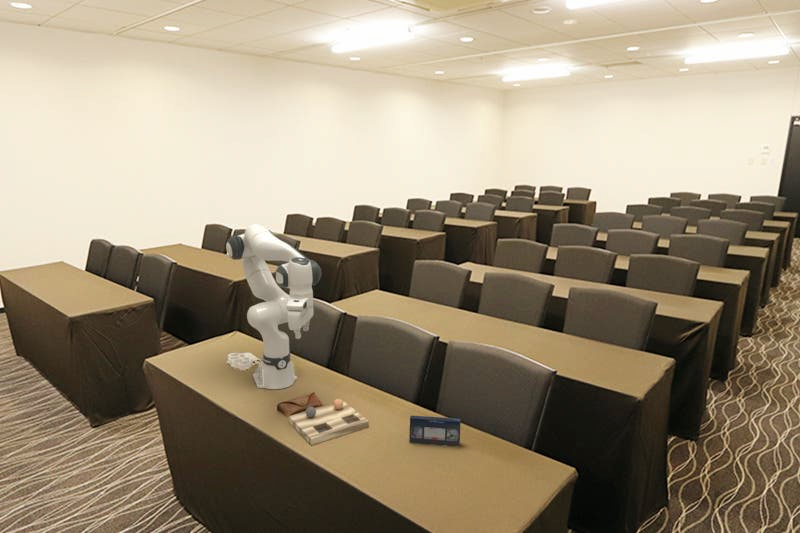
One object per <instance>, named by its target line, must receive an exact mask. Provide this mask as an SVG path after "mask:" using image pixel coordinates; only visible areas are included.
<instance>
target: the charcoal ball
mask: <svg viewBox="0 0 800 533" xmlns="http://www.w3.org/2000/svg"><path fill="white" fill-rule="evenodd" d="M315 414H316V408H314V407H308V408H307V409H306V415H307V416H308V417H313V416H315Z"/></svg>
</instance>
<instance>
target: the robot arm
mask: <svg viewBox="0 0 800 533" xmlns="http://www.w3.org/2000/svg"><path fill="white" fill-rule="evenodd" d="M225 246H226V247H225V248H226V252H227V254H228V256H229V257H230V258H231V259H232V260H234V261H235V260H237V261H238V260H239V261H240V260H242V259H243V260H242V263H241V266H242V270H243V272H244V273H243V274H244V276H245V278H246V281H247V284H248V286H249V287H250V288H249V289H250V291H251V293H252V295H253V296H254V297H256V298H257V299H260V300H263V302H259V303H257V304H254V305H251V306H250V307H249V308H248V310H247V313H246V318H247V319H246V320H247V322H248V324H249V325H250V326H251V327H252V328H253V329H255V330H257V331H258V332H259V333H260V335H261V337H262V342H263V343H262V344H263V352H262V353H263V355H262V360H261V363H259V364H258V365H257V368H255V372H254V373H253V375H252V377H253V380H254V382H255V385H256V387H257V388H258V389H267V390H280V389H285V388H289V387H290V386H292V385H293V384H294V383H295V381H297V380H298V376H297V375H295V367H294V362H292V361H291V358H292V356H291V351H290V338H289V336H288V334H287V333H286V332H284V331H282V330H279V325H281V324H286V323H287V325H288V329H289V330H290V331H293V332H294V334H295V335H294V336H295V339H296V340H300V339H301V338H302V332H301V329H302V330H303V331H304V332H308V331H309V326H310V321H311V319H312V318H313V316H314V313H315V312H314V291H313V287H312V286H316V284H318V283H319V281H320V280H321V279H322V278H321V277H322V275H323V273H322V268H321V267H320V264H318V263H317V262H316V261H315V260H313V259H310V258H308V257H307V256H306V255H304V254H303V253H302V252H300V251H299V250H298V249H297V248H295V247H294V246H292V244H289V243H287V242H285V241H283V240H281V239H279V238H278V237H276V236H275V235H274V232H272V231H271V230H270V229H268V228H266V227H265V226H263V225H261V224H259V223H253V224H250V225H249V226H248V227H247V228H246V229H245V230H244V233H242V234H239V235H233V236H232V237H229V238H228V239H227V241H226V243H225ZM266 261H268V262H270V261H274V262H275V261H276V262H277V261H280V262H281V261H282V262H285V263H283V264H281V265H279V266H277V267H276V270H275V272H274V276H273V273H272V272H271V270H270V268H269V266H268V264H267V262H266ZM286 262H287V263H286ZM274 277H275V278H274ZM283 289H289V294H288V293H287V292H285V291H284V290H283Z"/></svg>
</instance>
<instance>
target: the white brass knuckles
mask: <svg viewBox="0 0 800 533" xmlns="http://www.w3.org/2000/svg"><path fill="white" fill-rule="evenodd" d="M255 360H257V361H259V362H260V363H261V362H262V360H261V359H260V358H259V357H257V356H256V355H254V354H253V353H251V352H243V353H239V352H231V353H228V354H227V361H226V362H225V364H228V363H229V364H231V366H230V365H229V364H228V365H229V366H230V367H231V368H232V367H238V368H239V369H248V368H250V367H252V366H251V365H252V364H253V363H254V361H255ZM239 369H238V370H239ZM250 369H251V368H250ZM248 370H249V369H248Z"/></svg>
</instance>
